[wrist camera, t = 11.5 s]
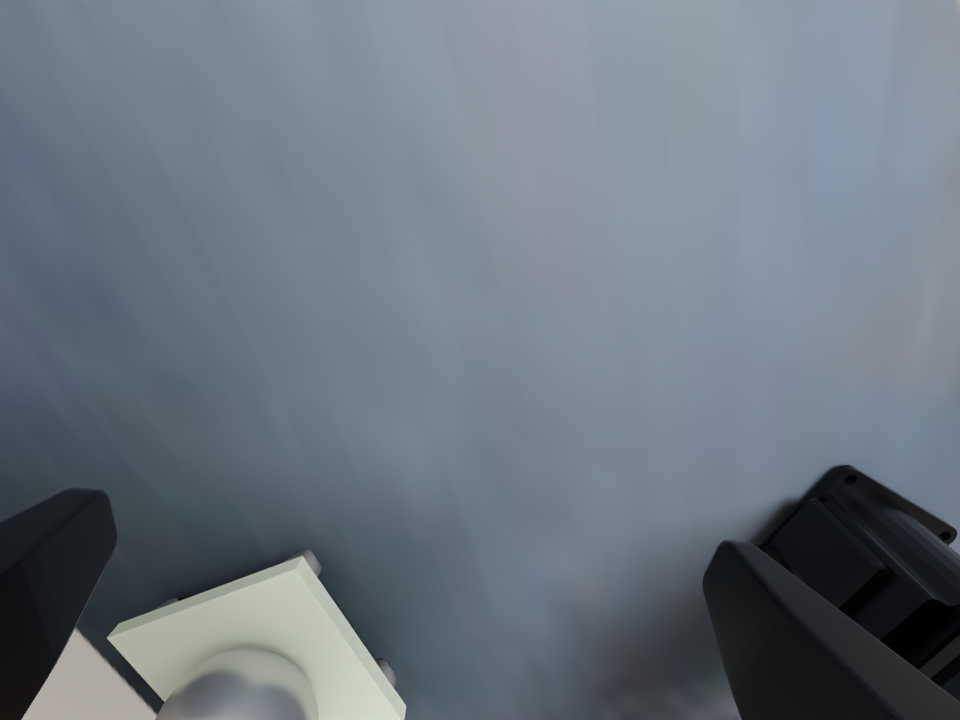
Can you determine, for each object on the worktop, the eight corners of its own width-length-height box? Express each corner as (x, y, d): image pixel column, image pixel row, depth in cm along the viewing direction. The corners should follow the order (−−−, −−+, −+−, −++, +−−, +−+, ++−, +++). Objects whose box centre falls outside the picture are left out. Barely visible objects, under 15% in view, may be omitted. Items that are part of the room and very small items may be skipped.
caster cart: (314, 530, 24) (295, 568, 22) (411, 674, 27) (403, 722, 25) (142, 595, 26) (106, 638, 23) (251, 725, 29) (229, 774, 26)
